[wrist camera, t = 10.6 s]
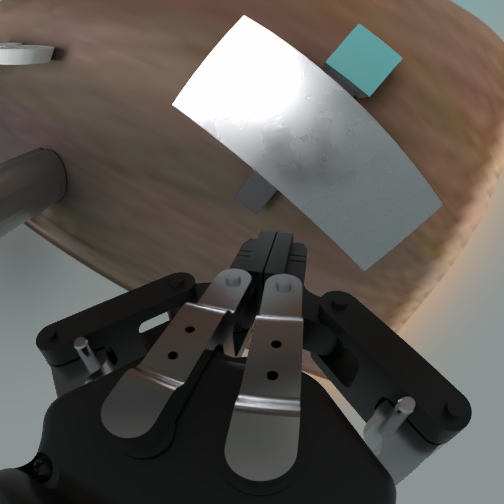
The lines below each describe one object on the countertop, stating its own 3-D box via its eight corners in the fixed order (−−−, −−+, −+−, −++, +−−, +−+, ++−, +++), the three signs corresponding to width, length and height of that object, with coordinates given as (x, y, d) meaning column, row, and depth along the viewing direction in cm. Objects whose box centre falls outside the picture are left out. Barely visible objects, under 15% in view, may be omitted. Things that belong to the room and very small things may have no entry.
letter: (66, 48, 24) (13, 50, 16) (62, 62, 26) (9, 66, 17) (8, 42, 23) (-32, 47, 14) (5, 52, 24) (-35, 58, 16)
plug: (235, 185, 31) (218, 203, 26) (350, 38, 20) (359, 23, 15) (267, 208, 32) (257, 231, 27) (385, 66, 21) (402, 58, 16)
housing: (221, 102, 27) (172, 104, 17) (269, 47, 23) (244, 15, 13) (349, 214, 30) (364, 271, 20) (400, 167, 26) (443, 204, 16)
